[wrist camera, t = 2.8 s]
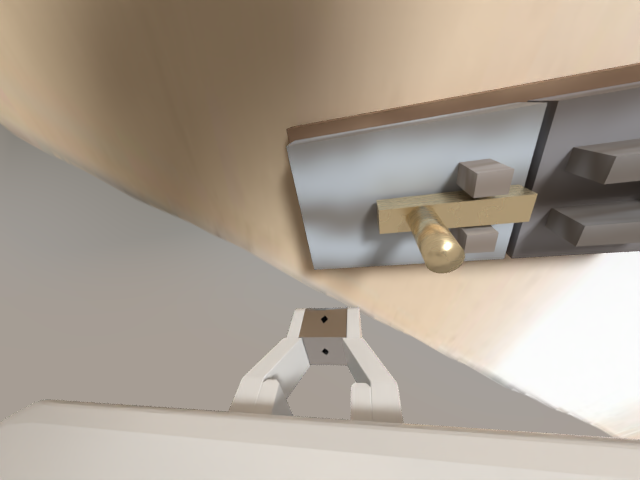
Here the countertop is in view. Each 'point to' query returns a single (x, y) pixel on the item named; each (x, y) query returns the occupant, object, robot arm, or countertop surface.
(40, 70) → the countertop surface
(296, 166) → the sliding barrel latch
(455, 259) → the bolt
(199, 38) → the countertop surface
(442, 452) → the robot arm
